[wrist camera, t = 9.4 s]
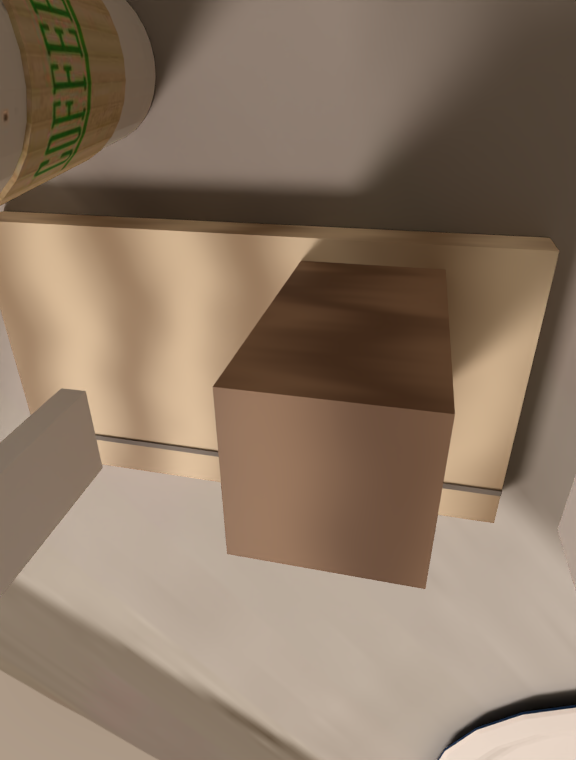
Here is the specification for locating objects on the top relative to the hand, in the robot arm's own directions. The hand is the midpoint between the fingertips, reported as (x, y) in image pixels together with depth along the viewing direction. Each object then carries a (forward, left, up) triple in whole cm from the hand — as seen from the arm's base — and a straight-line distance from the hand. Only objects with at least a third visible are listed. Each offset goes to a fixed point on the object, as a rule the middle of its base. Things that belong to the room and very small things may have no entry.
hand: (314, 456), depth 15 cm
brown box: (0, -4, -11) cm, 11 cm away
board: (-6, -4, -13) cm, 14 cm away
